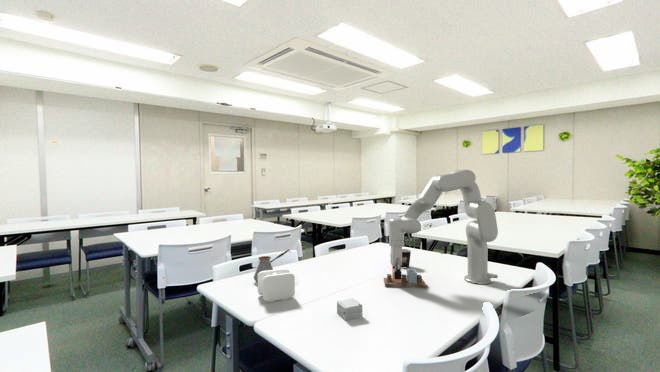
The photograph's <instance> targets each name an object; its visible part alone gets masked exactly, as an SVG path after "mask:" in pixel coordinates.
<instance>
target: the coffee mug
mask: <svg viewBox="0 0 660 372" xmlns="http://www.w3.org/2000/svg"><path fill="white" fill-rule="evenodd" d="M411 252H412V251H411V250H410V249H407V248H402V266H401V267H409V268H410V262H411V254H412V253H411ZM389 255H390V257H391V253H390V254H389Z"/></svg>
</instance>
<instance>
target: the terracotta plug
mask: <svg viewBox="0 0 660 372" xmlns="http://www.w3.org/2000/svg"><path fill="white" fill-rule="evenodd" d="M402 274H403V272H402V271H401V279H395V268H391V276H392V280H393V283H402Z"/></svg>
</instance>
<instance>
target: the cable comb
mask: <svg viewBox="0 0 660 372" xmlns="http://www.w3.org/2000/svg"><path fill="white" fill-rule="evenodd" d="M383 284H384V287H385V288H412V287H414V288H415V289H419V288H420V289H426V288H427V283H426V282H425V281H424V279H423V276H422V275H421V274H417V284H415V283H408V281H407V273H406V274H405V273H404V274H403V273H402V283H393V280H392V273H391V274H390V273H387V274H386V277H383Z"/></svg>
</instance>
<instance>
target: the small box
mask: <svg viewBox="0 0 660 372" xmlns="http://www.w3.org/2000/svg"><path fill="white" fill-rule="evenodd" d="M336 314H338V315H339V317H340V318H342V319H343V320H344V321H345V322H347V321H351V320H356V319H361V318H363V304H362V303H360V302H359V301H358V300H356V299H355V298H348V299H347V298H346V299H342V300H336Z"/></svg>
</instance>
